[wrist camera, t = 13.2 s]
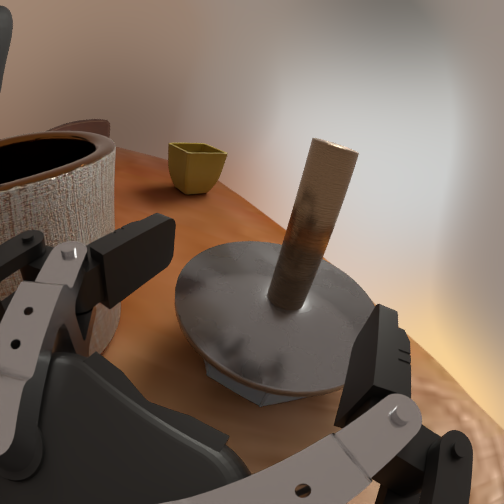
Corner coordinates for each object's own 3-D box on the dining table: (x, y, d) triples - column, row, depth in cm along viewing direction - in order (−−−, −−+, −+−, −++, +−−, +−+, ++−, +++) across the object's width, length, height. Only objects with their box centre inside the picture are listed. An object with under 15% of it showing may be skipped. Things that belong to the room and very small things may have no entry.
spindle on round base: (172, 243, 26) (189, 108, 20) (326, 252, 32) (362, 145, 25) (184, 412, 13) (213, 154, 6) (411, 368, 18) (502, 226, 12)
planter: (138, 384, 19) (122, 183, 11) (-40, 391, 10) (-127, 223, 2) (114, 257, 31) (116, 126, 24) (-9, 268, 23) (-30, 143, 15)
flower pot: (198, 181, 60) (205, 142, 56) (220, 196, 55) (229, 152, 51) (162, 184, 55) (167, 142, 50) (182, 200, 50) (188, 152, 45)
